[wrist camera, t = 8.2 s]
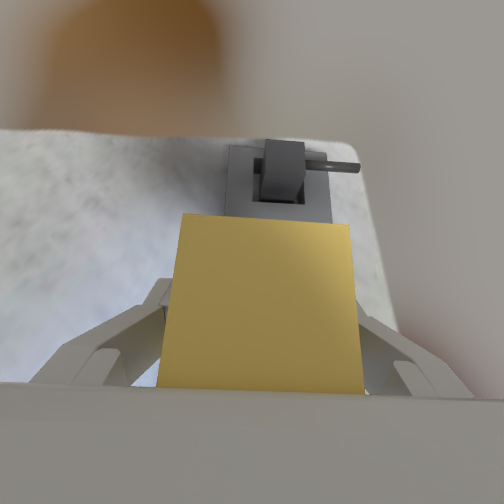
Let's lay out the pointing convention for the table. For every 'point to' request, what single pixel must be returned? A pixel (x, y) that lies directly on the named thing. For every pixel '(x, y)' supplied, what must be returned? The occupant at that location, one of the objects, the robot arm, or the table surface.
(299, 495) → the robot arm
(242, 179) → the grey socket block
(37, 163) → the table surface
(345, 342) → the plug
